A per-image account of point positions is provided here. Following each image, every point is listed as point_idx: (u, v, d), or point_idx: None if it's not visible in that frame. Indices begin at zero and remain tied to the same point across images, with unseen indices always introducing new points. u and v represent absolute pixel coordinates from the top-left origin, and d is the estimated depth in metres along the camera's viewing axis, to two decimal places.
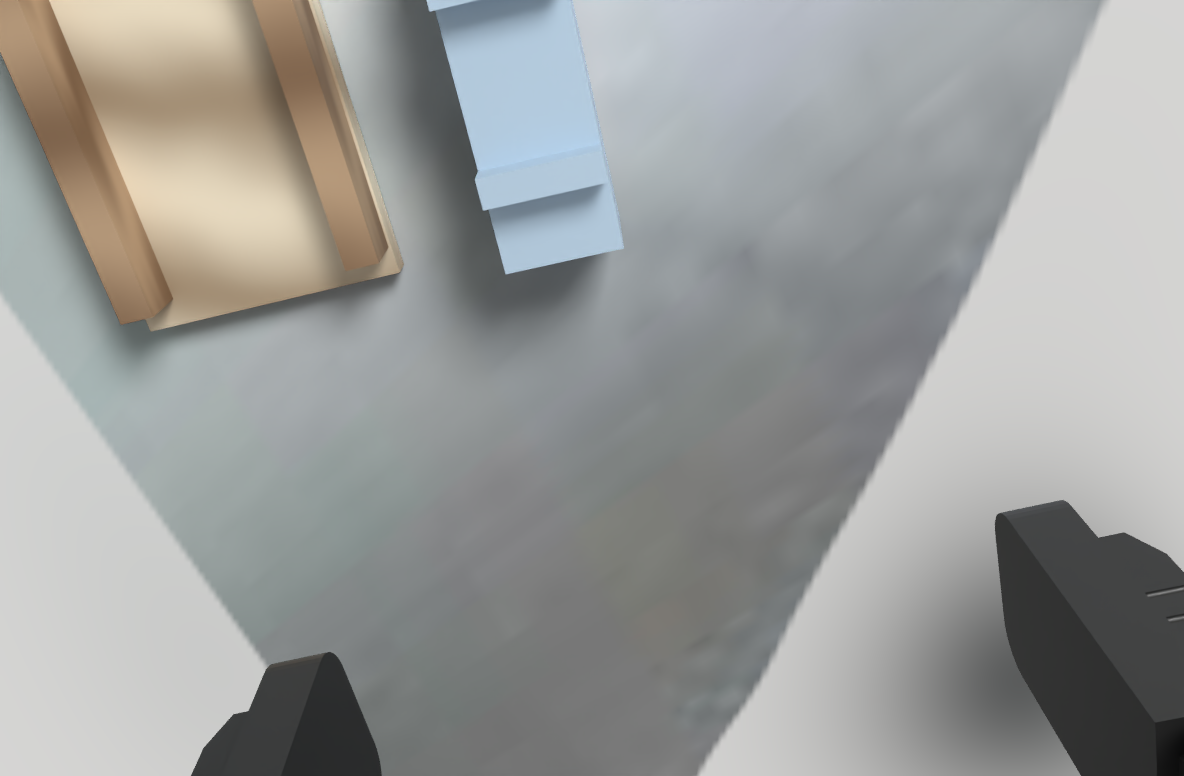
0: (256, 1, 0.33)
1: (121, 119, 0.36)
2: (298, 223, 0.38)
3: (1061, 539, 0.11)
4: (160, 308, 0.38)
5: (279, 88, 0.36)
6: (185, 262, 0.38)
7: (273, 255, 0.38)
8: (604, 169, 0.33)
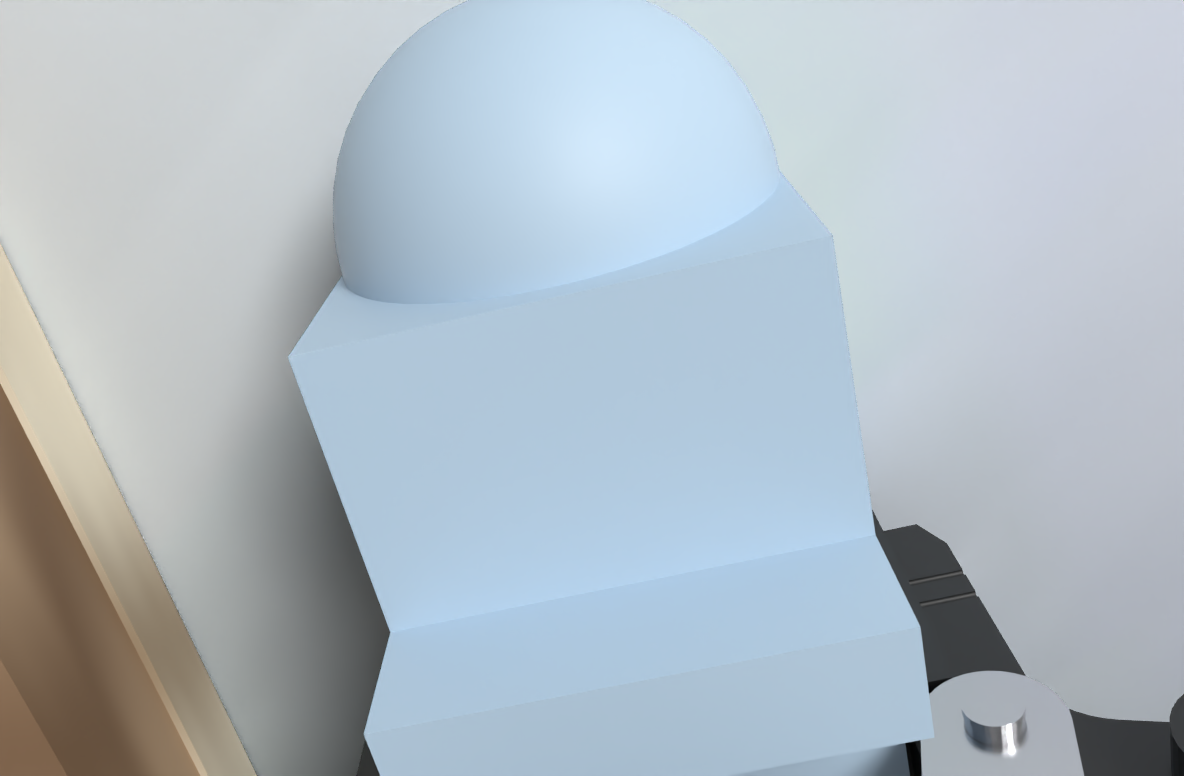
0: None
1: None
2: None
3: None
4: None
5: None
6: None
7: None
8: None
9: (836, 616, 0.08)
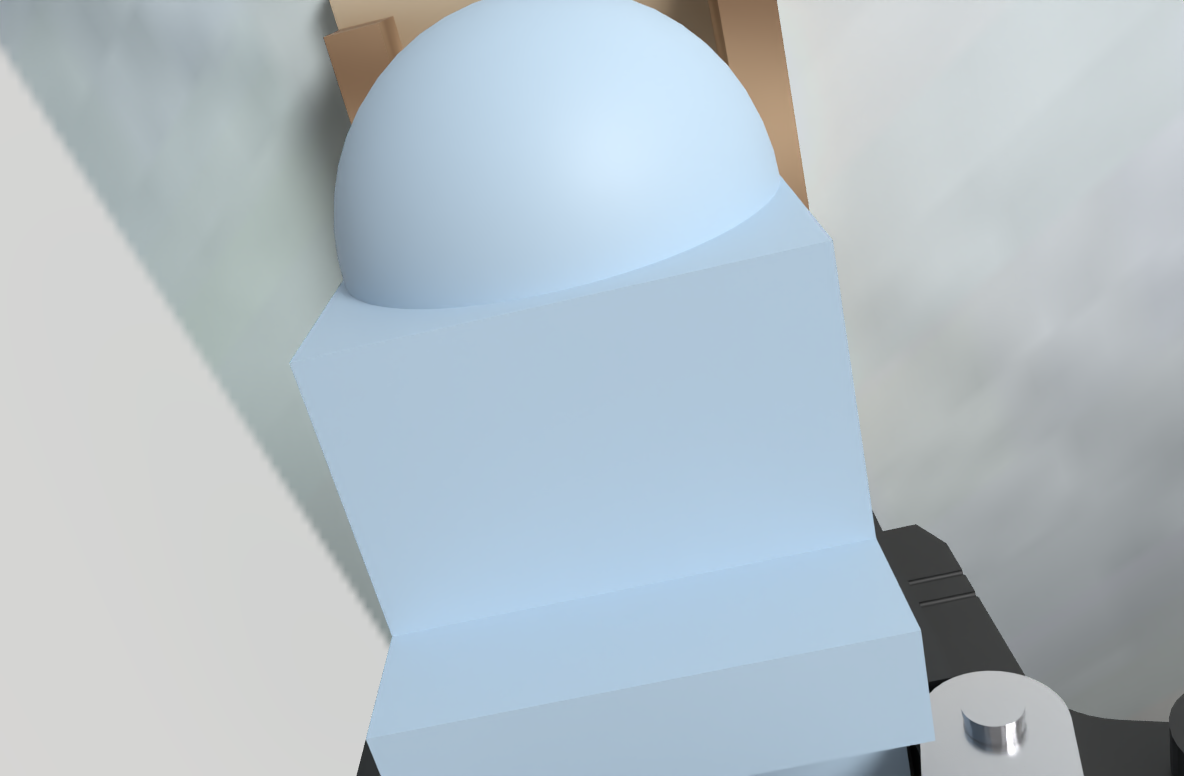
0: None
1: None
2: None
3: None
4: None
5: None
6: None
7: None
8: None
9: (835, 620, 0.08)
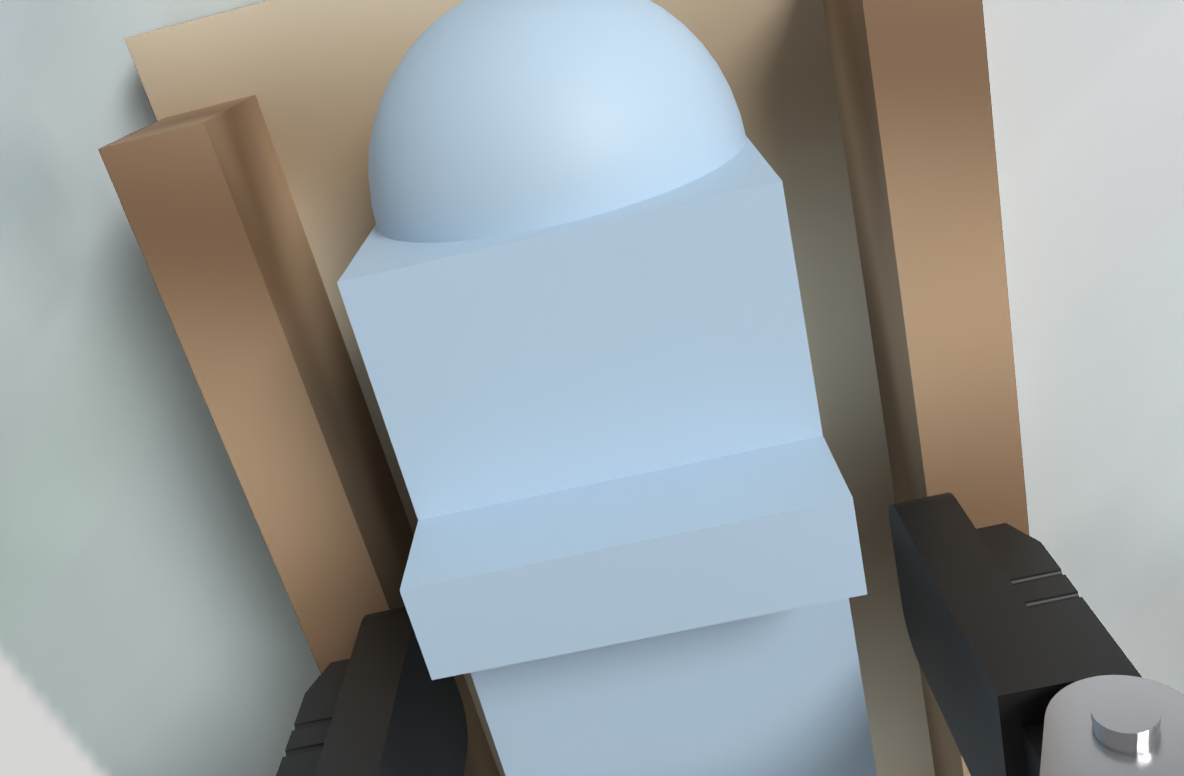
0: (925, 400, 0.13)
1: None
2: None
3: (941, 528, 0.12)
4: None
5: None
6: None
7: None
8: None
9: (785, 494, 0.09)
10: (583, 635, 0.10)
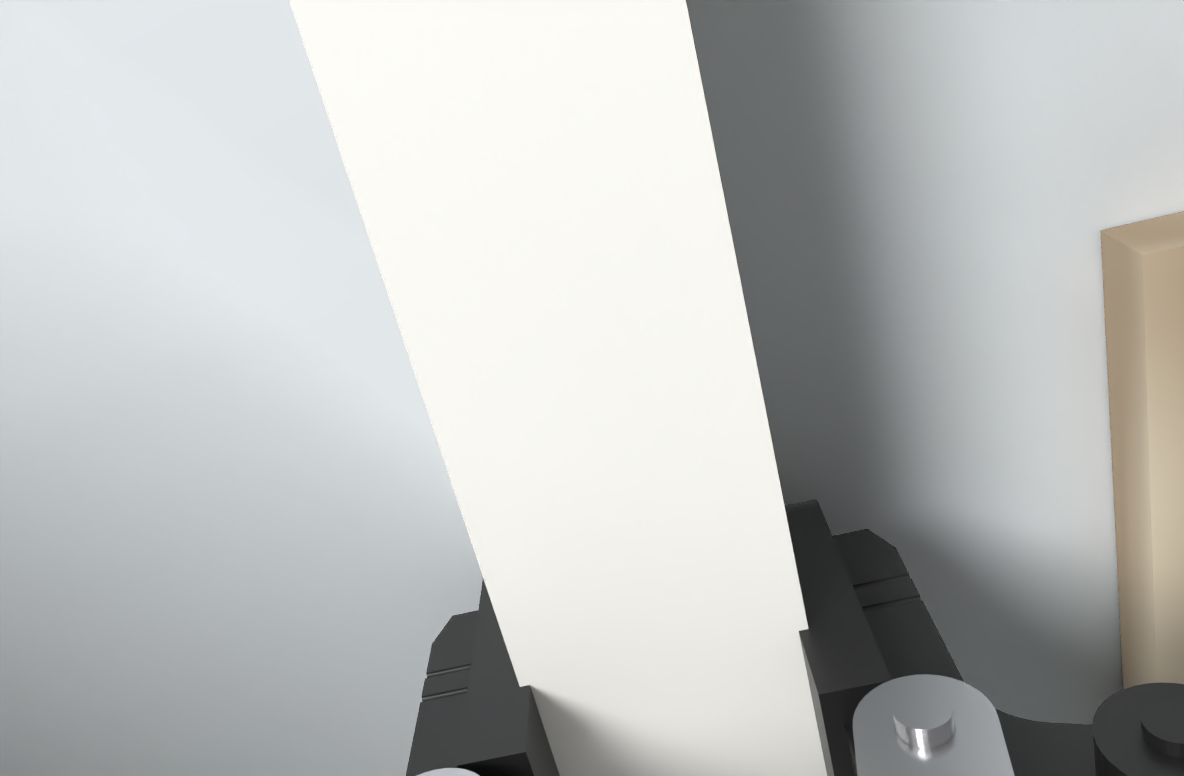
0: None
1: None
2: None
3: (800, 535, 0.12)
4: None
5: None
6: None
7: None
8: None
9: None
10: None
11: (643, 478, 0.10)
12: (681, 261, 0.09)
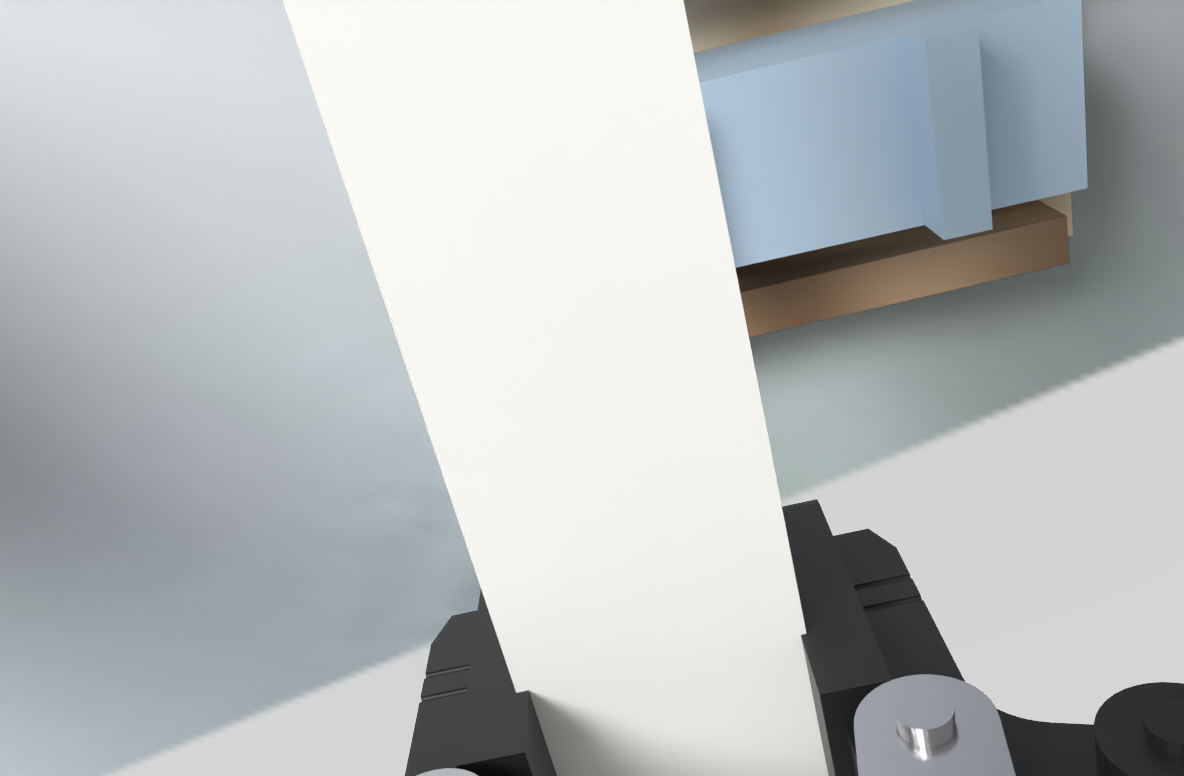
0: None
1: None
2: None
3: (801, 534, 0.12)
4: (1050, 208, 0.26)
5: (756, 0, 0.25)
6: None
7: None
8: (956, 34, 0.20)
9: None
10: None
11: (643, 495, 0.10)
12: (682, 279, 0.09)
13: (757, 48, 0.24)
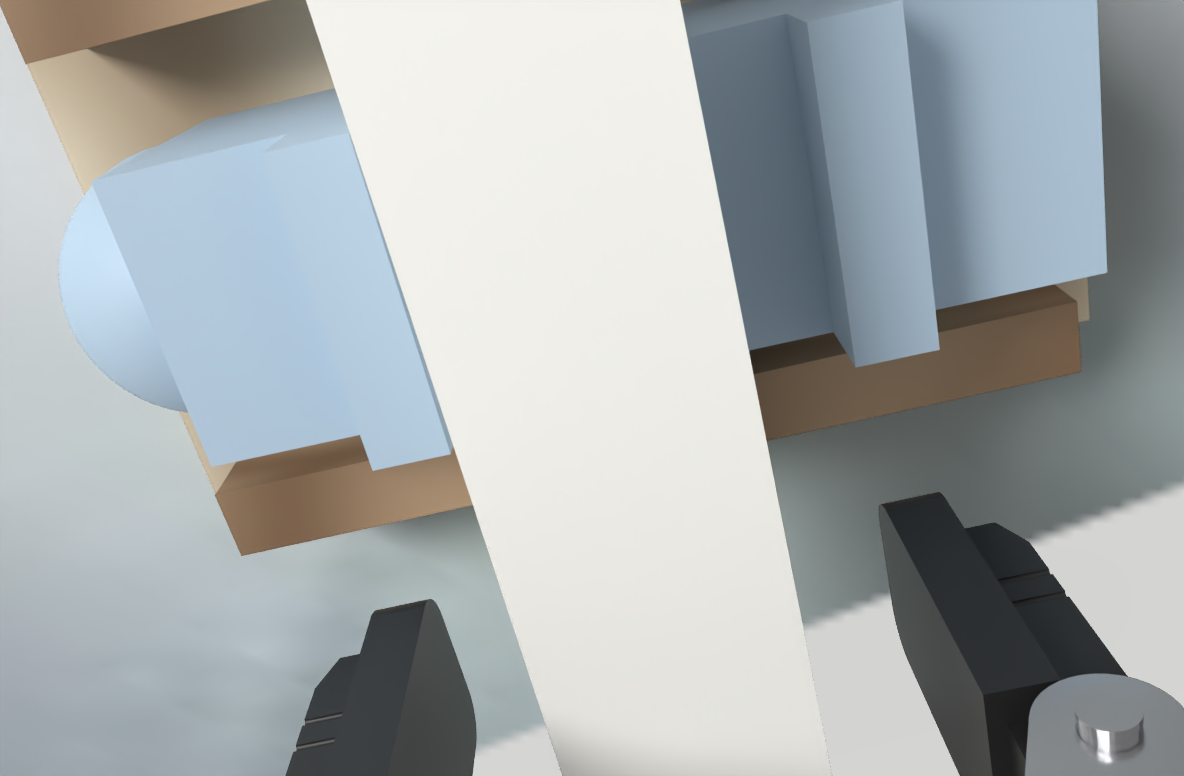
0: None
1: None
2: None
3: (930, 528, 0.12)
4: (1053, 286, 0.17)
5: None
6: None
7: None
8: (862, 13, 0.11)
9: (283, 194, 0.12)
10: (403, 349, 0.12)
11: (644, 471, 0.11)
12: (681, 267, 0.10)
13: None
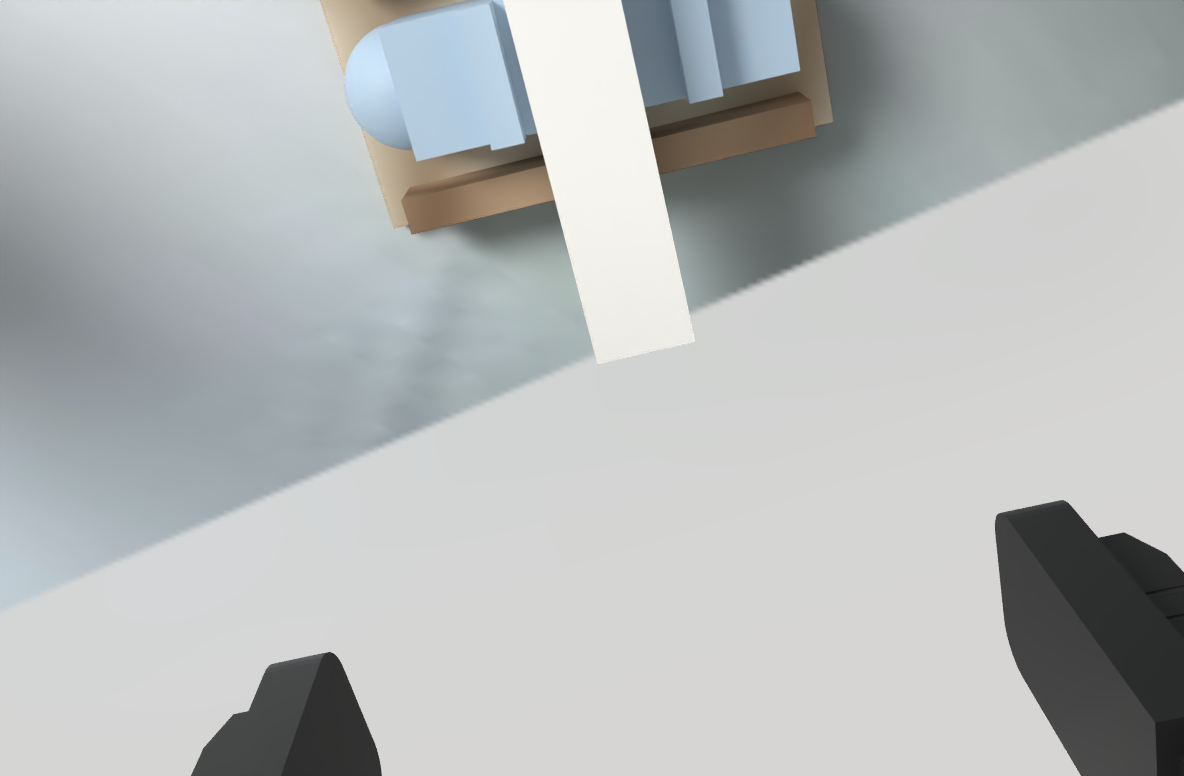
0: None
1: None
2: None
3: (1061, 539, 0.11)
4: (804, 97, 0.36)
5: None
6: None
7: None
8: None
9: (460, 30, 0.31)
10: (506, 95, 0.31)
11: (601, 122, 0.29)
12: (612, 41, 0.28)
13: None
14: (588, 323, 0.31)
